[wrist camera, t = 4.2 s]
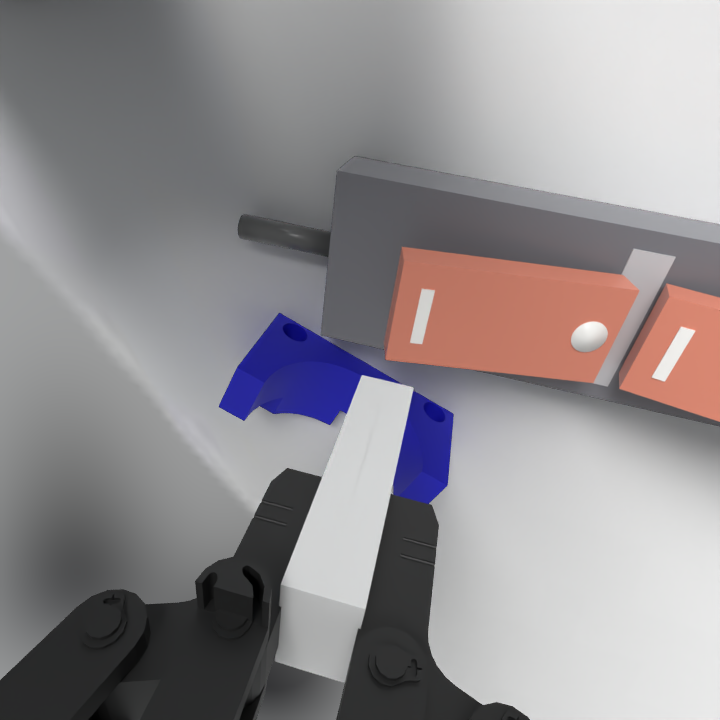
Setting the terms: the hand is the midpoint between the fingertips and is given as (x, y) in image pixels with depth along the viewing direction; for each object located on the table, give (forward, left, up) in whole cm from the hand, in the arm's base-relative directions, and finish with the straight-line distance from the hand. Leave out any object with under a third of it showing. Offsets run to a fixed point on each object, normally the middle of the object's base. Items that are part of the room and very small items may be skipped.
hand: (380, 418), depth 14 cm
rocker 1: (+3, +2, -8) cm, 9 cm away
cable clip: (+3, -9, -13) cm, 16 cm away
